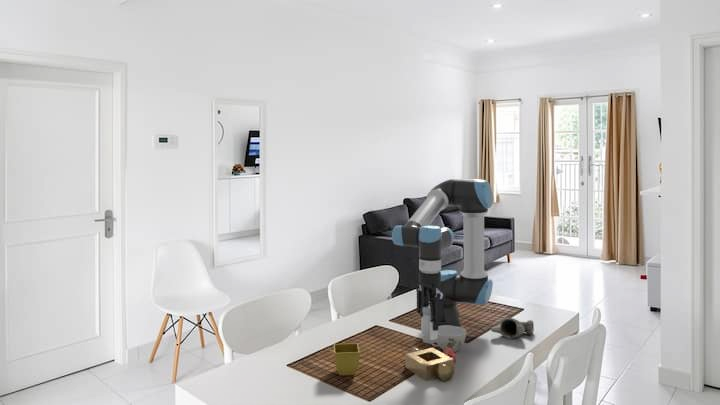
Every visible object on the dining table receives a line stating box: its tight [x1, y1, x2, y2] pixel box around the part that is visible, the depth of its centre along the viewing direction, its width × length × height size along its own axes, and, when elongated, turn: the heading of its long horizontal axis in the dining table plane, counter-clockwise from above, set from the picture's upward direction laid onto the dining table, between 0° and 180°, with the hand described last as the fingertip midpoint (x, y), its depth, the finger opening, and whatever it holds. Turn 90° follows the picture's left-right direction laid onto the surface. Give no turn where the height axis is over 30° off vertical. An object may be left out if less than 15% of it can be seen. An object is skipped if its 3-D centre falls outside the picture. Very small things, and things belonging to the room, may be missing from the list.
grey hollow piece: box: [490, 317, 535, 340], centre depth 214 cm, size 16×9×15 cm
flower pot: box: [333, 342, 361, 376], centre depth 179 cm, size 9×9×9 cm
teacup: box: [430, 325, 467, 353], centre depth 199 cm, size 15×12×8 cm
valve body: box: [404, 346, 457, 382], centre depth 182 cm, size 20×15×6 cm
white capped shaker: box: [422, 305, 437, 344], centre depth 179 cm, size 5×5×12 cm
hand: (429, 336), depth 180 cm, fingers closed on white capped shaker, 4 cm apart
